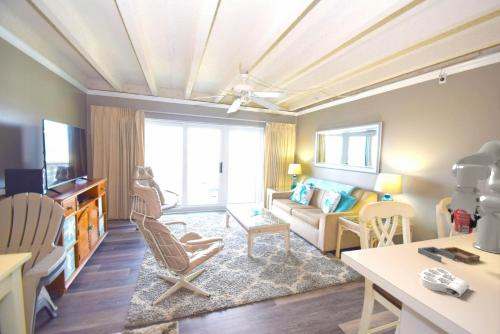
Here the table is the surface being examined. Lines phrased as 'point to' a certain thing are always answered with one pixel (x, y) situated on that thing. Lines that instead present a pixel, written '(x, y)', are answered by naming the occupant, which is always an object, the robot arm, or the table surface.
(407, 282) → the table surface
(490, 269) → the table surface
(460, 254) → the tray
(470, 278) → the table surface
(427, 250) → the frame
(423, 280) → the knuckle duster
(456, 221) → the soda can
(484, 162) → the robot arm
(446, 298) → the table surface
